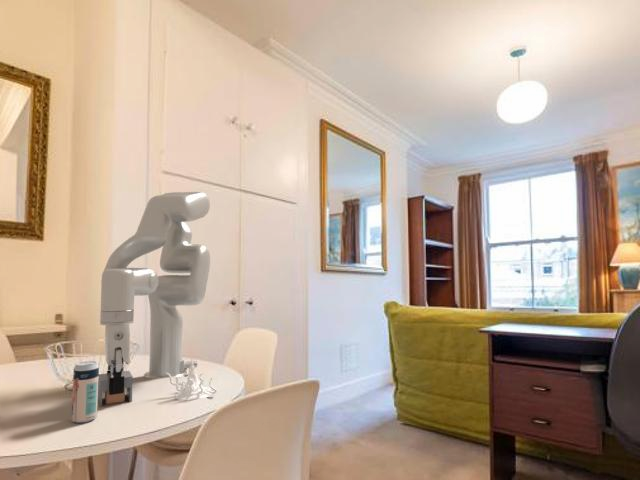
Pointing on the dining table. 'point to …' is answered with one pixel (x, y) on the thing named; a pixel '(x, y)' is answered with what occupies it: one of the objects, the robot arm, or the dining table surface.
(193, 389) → the tentacle sculpture
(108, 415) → the dining table surface
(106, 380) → the cover
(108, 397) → the letter cube
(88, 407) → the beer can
